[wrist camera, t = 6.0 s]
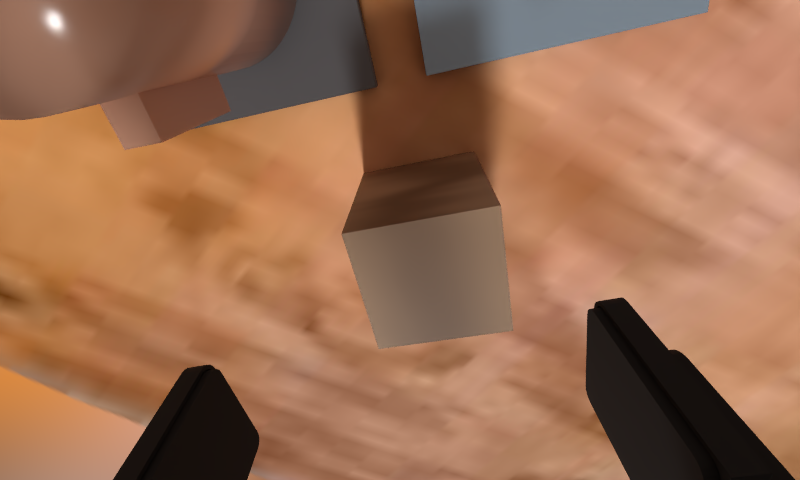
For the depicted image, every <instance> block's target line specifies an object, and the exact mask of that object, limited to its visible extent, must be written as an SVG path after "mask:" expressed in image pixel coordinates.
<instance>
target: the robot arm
mask: <svg viewBox="0 0 800 480" xmlns="http://www.w3.org/2000/svg"><path fill="white" fill-rule="evenodd" d="M586 391H587V395H588V398H589V400H590V403H591V405H592V407H593V408H594V410H595V412H596V414H597V416H598V418H599V420H600V422H601V424H602V426H603V428H604V430H605V432H606V434H607V436H608V438H609V439H610V441H611V443H612V445H613V447H614V449H615V451H616V453H617V455H618V457H619V459H620V461H621V463H622V465H623V467H624V469H625V471H626V472H627V474H628V476H629V478H630V480H795V479H794V478H793V477H792V476H791V474H790V473H789V472H788V471H787V470H786V469H785V468H784V466H783V465H782V464H781V463H780V462H779V461H778V460H777V459H776V457H775V456H774V455H773V454H772V453H771V452H770V451H769V450H768V448H767V447H766V446H765V445H764V444H763V443H762V442H761V441H760V439H759V438H758V437H757V436H756V435H755V434H754V433H753V432H752V430H751V429H750V428H749V427H748V426H747V425H746V424H745V422H744V421H743V420H742V419H741V418H740V417H739V416H738V415H737V413H736V412H735V411H734V410H733V409H732V408H731V407H730V406H729V404H728V403H727V402H726V401H725V400H724V399H723V398H722V397H721V395H720V394H719V393H718V392H717V391H716V390H715V389H714V388H713V386H712V385H711V384H710V383H709V382H708V381H707V380H706V378H705V377H704V376H703V375H702V374H701V373H700V372H699V371H698V369H697V368H696V367H695V366H694V365H693V364H692V363H691V362H690V360H689V359H688V358H687V357H686V356H685V355H683V354H682V353H681V352H679V351H677V350H668V349H667V348H666V346H665V345H664V344H663V343H662V342H661V341H660V339H659V338H658V337H657V336H656V335H655V334H654V332H653V331H652V330H651V329H650V328H649V326H648V325H647V324H646V323H645V322H644V321H643V319H642V318H641V317H640V316H639V315H638V314H637V312H636V311H635V310H634V309H633V308H632V306H631V305H630V304H629V303H628V302H627V301H626V300H625V299H624V298H616V299H610V300H604V301H598V302H596V303H595V306H594V309H589V310H588V314H587V355H586ZM258 446H259V435H258V432H257V430H256V429H255V427H254V425H253V424H252V422H251V420H250V419H249V417H248V415H247V414H246V412H245V411H244V409H243V407H242V406H241V404H240V402H239V401H238V399H237V397H236V396H235V394H234V393H233V391H232V389H231V388H230V386H229V384H228V383H227V381H226V379H225V378H224V376H223V375H222V373H221V372H220V370H218V369H215V368H214V367H213V366H212V365H203V366H197V367H191V368H187V369H185V370H184V371H183V372H182V374H181V375H180V377H179V378H178V380H177V381H176V383H175V384H174V386H173V388H172V389H171V391H170V392H169V394H168V395H167V397H166V398H165V400H164V401H163V403H162V405H161V406H160V408H159V409H158V411H157V412H156V414H155V415H154V417H153V419H152V420H151V422H150V423H149V425H148V426H147V428H146V429H145V431H144V433H143V434H142V436H141V437H140V439H139V440H138V442H137V443H136V445H135V446H134V448H133V449H132V451H131V453H130V454H129V456H128V457H127V459H126V460H125V462H124V464H123V465H122V466H121V468H120V470H119V471H118V473H117V474H116V476H115V477H114V479H113V480H247V479H248V476H249V473H250V470H251V467H252V464H253V461H254V458H255V455H256V452H257V450H258Z"/></svg>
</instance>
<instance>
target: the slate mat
mask: <svg viewBox="0 0 800 480" xmlns="http://www.w3.org/2000/svg"><path fill="white" fill-rule="evenodd" d="M414 4H415V10H416V16H417V22H418V28H419V34H420V40H421V46H422V52H423V58H424V64H425V70H426V75H427V76H428V75H432V74H437V73H441V72H445V71H450V70H454V69H459V68H463V67H467V66H472V65H476V64H481V63H485V62H490V61H494V60H498V59H503V58H507V57H512V56H516V55H520V54H525V53H529V52H534V51H538V50H542V49H547V48H551V47H556V46H560V45H564V44H569V43H573V42H578V41H582V40H586V39H591V38H595V37H600V36H604V35H609V34H613V33H617V32H622V31H626V30H631V29H635V28H639V27H644V26H648V25H653V24H657V23H661V22H666V21H670V20H675V19H679V18H683V17H688V16H692V15H697V14H701V13H706V12H708V6H709V0H414Z"/></svg>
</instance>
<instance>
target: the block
mask: <svg viewBox="0 0 800 480" xmlns="http://www.w3.org/2000/svg"><path fill="white" fill-rule="evenodd" d="M342 237H343V240H344V243H345V246H346V249H347V252H348V255H349V258H350V261H351V265H352V268H353V271H354V274H355V277H356V280H357V283H358V286H359V289H360V292H361V295H362V298H363V301H364V305H365V308H366V311H367V314H368V317H369V320H370V323H371V326H372V329H373V332H374V335H375V338H376V341H377V345H378V348H379V349H382V348H389V347H397V346H404V345H411V344H419V343H426V342H434V341H441V340H448V339H456V338H463V337H470V336H478V335H485V334H492V333H500V332H507V331H513V323H512V313H511V303H510V293H509V283H508V273H507V263H506V253H505V243H504V233H503V223H502V213H501V205H500V203H499V201H498V199H497V197H496V195H495V193H494V191H493V189H492V187H491V185H490V183H489V181H488V179H487V177H486V175H485V173H484V171H483V168H482V166H481V164H480V162H479V160H478V158H477V156H476V154H475V152H474V151H473V152H468V153H463V154H458V155H453V156H448V157H443V158H438V159H433V160H428V161H423V162H418V163H413V164H408V165H403V166H398V167H393V168H388V169H383V170H378V171H373V172H368V173H364V174H363V177H362V180H361V183H360V185H359V188H358V191H357V193H356V196H355V199H354V202H353V204H352V207H351V210H350V212H349V215H348V218H347V221H346V223H345V226H344V229H343V231H342Z"/></svg>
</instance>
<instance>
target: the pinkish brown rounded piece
mask: <svg viewBox="0 0 800 480" xmlns="http://www.w3.org/2000/svg"><path fill="white" fill-rule="evenodd" d="M296 1H297V0H0V119H1V120H26V119H33V118H40V117H47V116H51V115H55V114H59V113H63V112H67V111H72V110H76V109H80V108H84V107H88V106H92V105H97V104H100V105H101V107H102V109H103V111H104V113H105V115H106V116H107V118H108V120H109V122H110V124H111V126H112V127H113V129H114V131H115V133H116V135H117V137H118V138H119V140H120V142H121V144H122V146H123V148H124V149H125V150H127V149H132V148H137V147H142V146H147V145H151V144H156V143H161V142H164V141H166V140H168V139H171V138H173V137H175V136H177V135H179V134H182V133H184V132H186V131H188V130H190V129H193V128H195V127H197V126H199V125H201V124H204V123H206V122H208V121H210V120H212V119H215V118H217V117H219V116H221V115H223V114H225V113H228V112H230V111H231V109H230V107H229V104H228V102H227V99H226V97H225V94H224V92H223V89H222V86H221V84H220V81H219V79H218V76H217V75H221V74H225V73H230V72H234V71H238V70H242V69H245V68H248V67H251V66H253V65H255V64H257V63H259V62H261V61H262V60H263V59H265V58H266V57H268V56H269V55H270V54H271V53H272V52H273V51H274V50H275V49H276V48H277V46H278V45H279V44H280V42H281V41H282V40H283V38H284V36H285V34H286V33H287V31H288V29H289V26H290V24H291V21H292V19H293V15H294V11H295V7H296Z"/></svg>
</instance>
